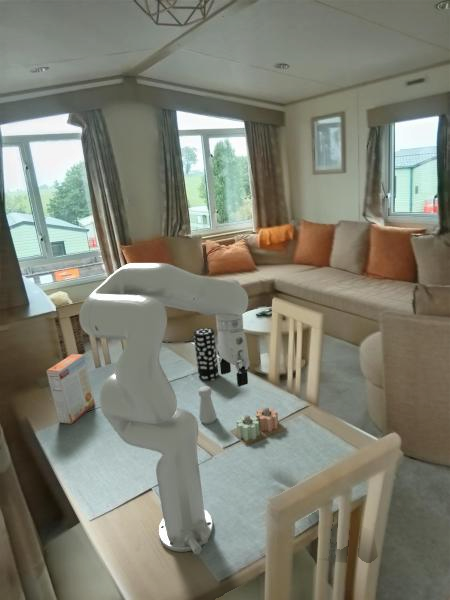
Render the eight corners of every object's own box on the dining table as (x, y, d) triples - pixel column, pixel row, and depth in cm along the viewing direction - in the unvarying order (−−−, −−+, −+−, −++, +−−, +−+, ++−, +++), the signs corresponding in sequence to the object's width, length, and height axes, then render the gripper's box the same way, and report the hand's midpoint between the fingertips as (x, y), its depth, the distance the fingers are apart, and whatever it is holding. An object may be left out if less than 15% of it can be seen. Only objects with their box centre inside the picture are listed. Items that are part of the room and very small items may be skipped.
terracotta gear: (282, 423, 133) (281, 410, 132) (270, 434, 128) (270, 421, 126) (264, 417, 137) (263, 405, 136) (252, 427, 132) (251, 415, 131)
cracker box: (82, 402, 160) (72, 353, 154) (95, 404, 158) (85, 353, 152) (57, 423, 148) (45, 369, 142) (71, 424, 146) (59, 371, 140)
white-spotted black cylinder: (195, 375, 174) (190, 330, 168) (213, 370, 177) (209, 326, 171) (203, 383, 166) (197, 337, 161) (221, 377, 170) (217, 332, 164)
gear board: (287, 431, 130) (285, 411, 128) (247, 450, 123) (245, 429, 121) (268, 417, 139) (267, 398, 137) (230, 434, 132) (228, 414, 130)
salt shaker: (214, 428, 136) (210, 392, 132) (198, 427, 137) (193, 392, 133) (218, 418, 141) (214, 383, 138) (202, 417, 142) (198, 383, 139)
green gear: (263, 435, 128) (262, 422, 126) (245, 443, 125) (244, 430, 123) (251, 425, 133) (250, 413, 132) (233, 432, 130) (232, 420, 129)
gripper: (257, 327, 111) (261, 386, 115) (226, 314, 126) (230, 366, 130) (233, 334, 108) (238, 393, 112) (204, 319, 122) (209, 372, 127)
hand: (234, 378), depth 121 cm, fingers open, 9 cm apart
